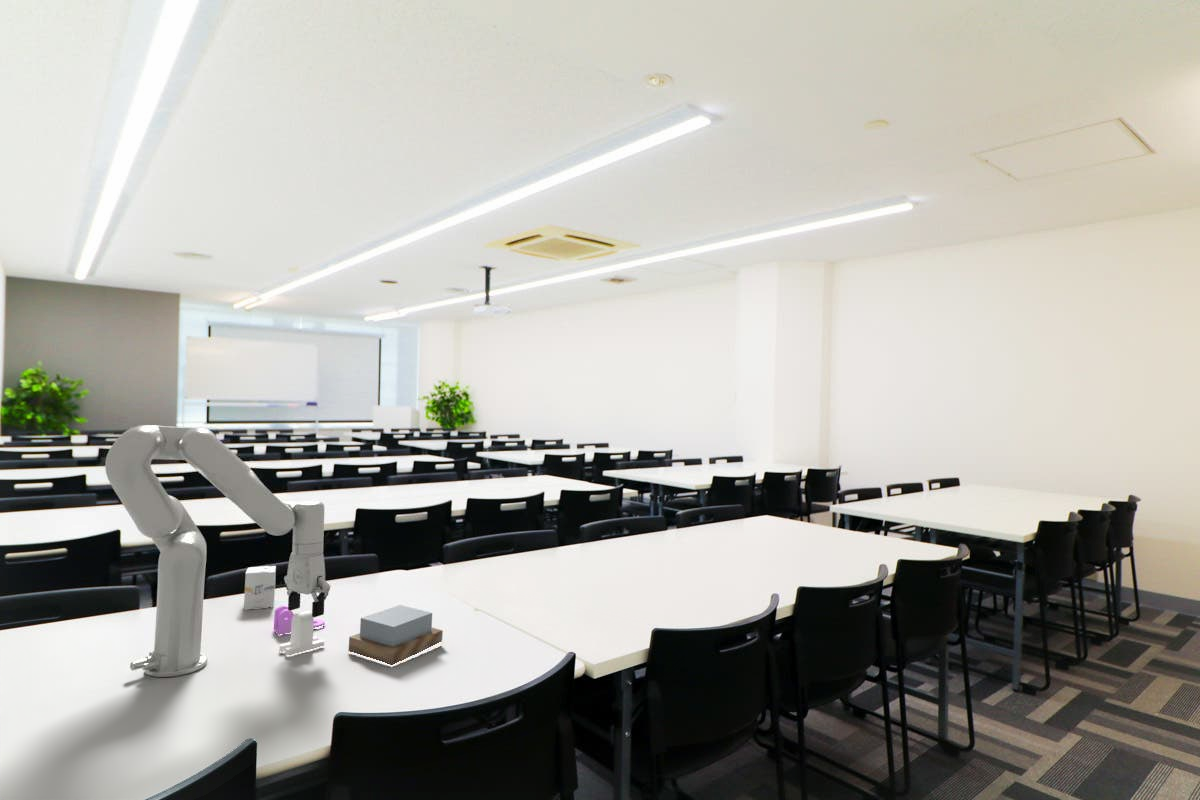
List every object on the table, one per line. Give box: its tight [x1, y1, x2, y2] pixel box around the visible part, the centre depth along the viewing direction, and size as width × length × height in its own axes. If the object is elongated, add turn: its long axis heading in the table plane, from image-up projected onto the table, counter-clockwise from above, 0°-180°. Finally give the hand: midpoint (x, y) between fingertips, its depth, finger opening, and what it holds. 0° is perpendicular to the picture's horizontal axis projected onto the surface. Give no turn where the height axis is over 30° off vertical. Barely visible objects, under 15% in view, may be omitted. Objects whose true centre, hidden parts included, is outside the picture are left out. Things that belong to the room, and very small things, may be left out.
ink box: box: [243, 565, 277, 611], centre depth 204 cm, size 9×8×12 cm
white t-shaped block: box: [278, 610, 325, 655], centre depth 169 cm, size 5×10×10 cm, turn 141°
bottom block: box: [348, 627, 444, 665], centre depth 172 cm, size 18×16×5 cm
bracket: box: [273, 605, 325, 635], centre depth 185 cm, size 13×6×7 cm, turn 130°
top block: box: [359, 604, 433, 647], centre depth 172 cm, size 14×12×5 cm
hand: (305, 612), depth 170 cm, fingers open, 9 cm apart
